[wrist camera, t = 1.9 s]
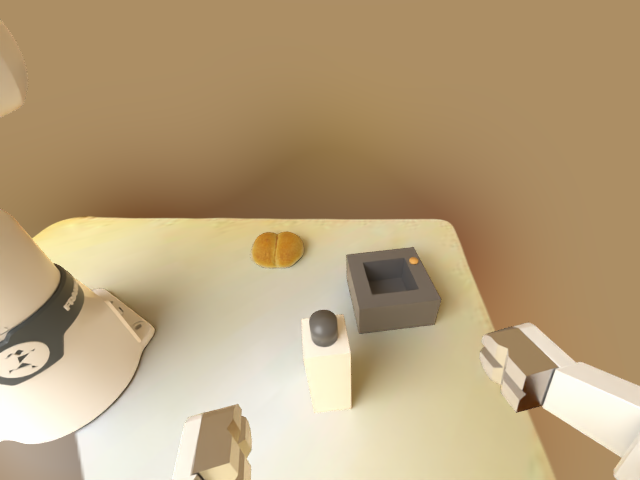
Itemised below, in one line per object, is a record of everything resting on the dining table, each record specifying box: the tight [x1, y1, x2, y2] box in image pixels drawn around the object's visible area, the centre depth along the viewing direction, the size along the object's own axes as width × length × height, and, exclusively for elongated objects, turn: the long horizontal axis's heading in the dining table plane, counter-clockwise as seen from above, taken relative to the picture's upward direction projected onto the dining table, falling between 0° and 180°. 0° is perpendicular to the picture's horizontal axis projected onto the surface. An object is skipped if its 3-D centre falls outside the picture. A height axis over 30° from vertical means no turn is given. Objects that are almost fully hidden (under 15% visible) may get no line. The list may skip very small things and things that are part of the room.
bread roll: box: [251, 232, 304, 268], centre depth 52 cm, size 8×9×4 cm
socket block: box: [346, 247, 441, 334], centre depth 41 cm, size 10×10×5 cm
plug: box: [301, 310, 351, 413], centre depth 29 cm, size 4×4×13 cm
